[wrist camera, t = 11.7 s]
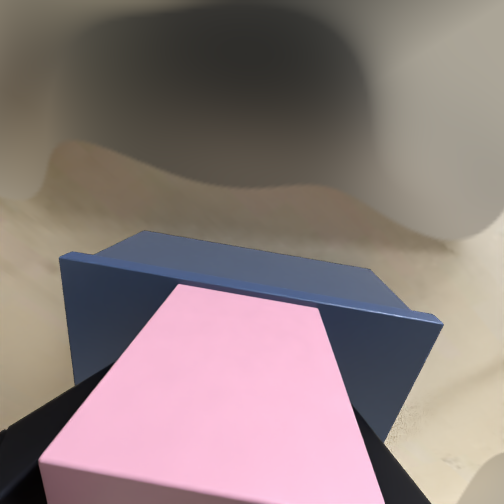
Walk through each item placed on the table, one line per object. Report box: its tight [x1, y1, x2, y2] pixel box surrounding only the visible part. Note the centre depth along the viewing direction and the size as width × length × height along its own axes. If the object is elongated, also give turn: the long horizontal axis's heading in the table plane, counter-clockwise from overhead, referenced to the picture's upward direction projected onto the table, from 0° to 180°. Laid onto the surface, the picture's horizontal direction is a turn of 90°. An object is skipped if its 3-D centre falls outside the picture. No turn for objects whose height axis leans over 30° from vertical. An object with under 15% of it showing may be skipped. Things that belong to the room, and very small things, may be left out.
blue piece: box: [59, 231, 444, 443], centre depth 12 cm, size 13×14×5 cm
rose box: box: [38, 284, 385, 504], centre depth 6 cm, size 5×5×5 cm
